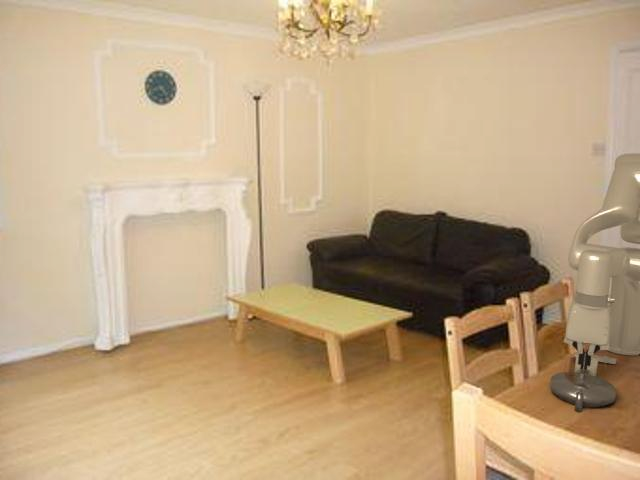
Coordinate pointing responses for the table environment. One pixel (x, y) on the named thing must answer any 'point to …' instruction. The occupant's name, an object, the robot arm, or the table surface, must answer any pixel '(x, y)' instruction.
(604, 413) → the table surface
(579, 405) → the dial pointer
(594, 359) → the cover
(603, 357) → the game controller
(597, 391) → the turntable
